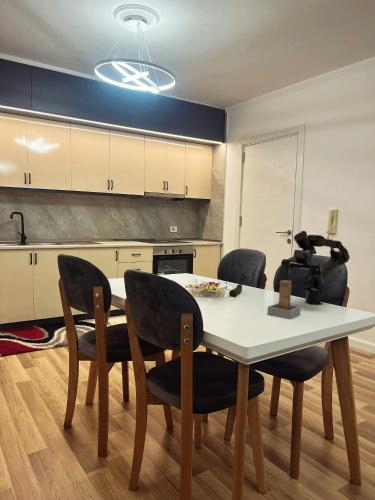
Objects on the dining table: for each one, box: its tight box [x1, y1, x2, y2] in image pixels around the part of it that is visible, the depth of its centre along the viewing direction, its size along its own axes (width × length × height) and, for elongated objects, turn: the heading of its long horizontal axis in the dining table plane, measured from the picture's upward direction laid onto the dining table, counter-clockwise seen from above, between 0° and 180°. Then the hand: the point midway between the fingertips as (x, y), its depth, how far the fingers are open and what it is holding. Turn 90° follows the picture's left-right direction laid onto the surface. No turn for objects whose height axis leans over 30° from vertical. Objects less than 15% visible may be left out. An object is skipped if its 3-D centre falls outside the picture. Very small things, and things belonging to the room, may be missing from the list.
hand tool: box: [228, 283, 243, 298], centre depth 206 cm, size 19×4×5 cm, turn 156°
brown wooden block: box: [278, 279, 292, 310], centre depth 163 cm, size 4×4×14 cm
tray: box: [267, 302, 302, 320], centre depth 163 cm, size 10×10×4 cm
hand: (295, 280), depth 174 cm, fingers open, 9 cm apart
